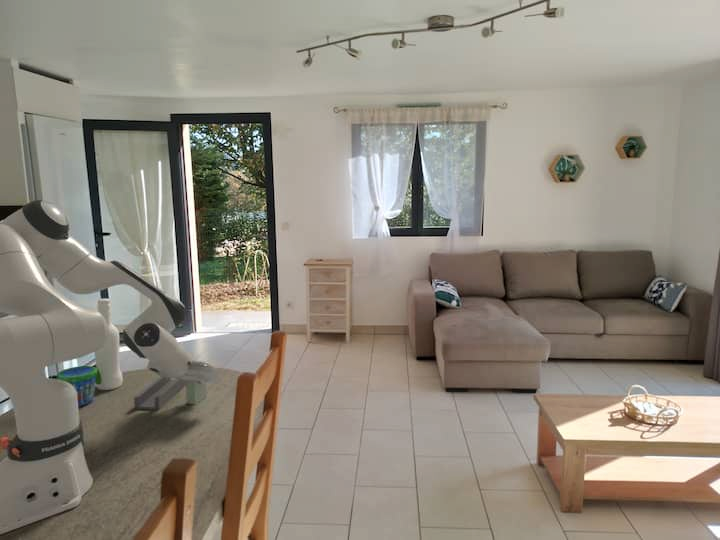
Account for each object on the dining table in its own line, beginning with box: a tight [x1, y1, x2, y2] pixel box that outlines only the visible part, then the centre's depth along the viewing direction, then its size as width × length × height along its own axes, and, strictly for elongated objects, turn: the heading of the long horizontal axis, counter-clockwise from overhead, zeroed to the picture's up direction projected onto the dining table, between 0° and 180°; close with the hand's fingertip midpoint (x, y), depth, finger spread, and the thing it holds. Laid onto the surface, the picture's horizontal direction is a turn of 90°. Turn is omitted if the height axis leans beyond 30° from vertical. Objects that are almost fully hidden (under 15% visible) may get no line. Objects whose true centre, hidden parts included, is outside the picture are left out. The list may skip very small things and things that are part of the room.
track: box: [133, 376, 186, 411], centre depth 154 cm, size 22×7×4 cm, turn 177°
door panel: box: [185, 380, 208, 405], centre depth 150 cm, size 6×3×10 cm, turn 163°
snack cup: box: [57, 365, 102, 407], centre depth 147 cm, size 16×10×10 cm
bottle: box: [93, 298, 124, 391], centre depth 159 cm, size 8×8×30 cm
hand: (197, 381), depth 150 cm, fingers closed on door panel, 3 cm apart
